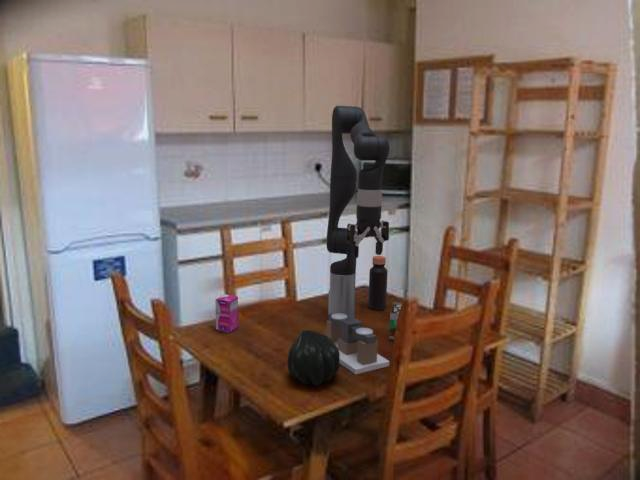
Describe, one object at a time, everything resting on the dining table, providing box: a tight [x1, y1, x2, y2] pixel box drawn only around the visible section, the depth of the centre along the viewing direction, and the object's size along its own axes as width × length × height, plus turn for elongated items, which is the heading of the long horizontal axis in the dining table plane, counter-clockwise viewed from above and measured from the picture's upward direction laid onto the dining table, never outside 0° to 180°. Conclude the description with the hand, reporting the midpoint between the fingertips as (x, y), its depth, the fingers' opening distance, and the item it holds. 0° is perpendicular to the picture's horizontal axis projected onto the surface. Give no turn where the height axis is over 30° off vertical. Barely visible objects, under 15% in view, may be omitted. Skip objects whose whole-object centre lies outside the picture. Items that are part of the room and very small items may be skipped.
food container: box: [388, 301, 403, 342], centre depth 188 cm, size 12×6×10 cm, turn 168°
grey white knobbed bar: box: [328, 313, 377, 344], centre depth 172 cm, size 22×5×6 cm, turn 30°
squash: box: [286, 329, 340, 386], centre depth 156 cm, size 14×15×15 cm
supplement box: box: [214, 293, 239, 334], centre depth 191 cm, size 6×6×12 cm
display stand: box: [325, 319, 390, 375], centre depth 172 cm, size 24×12×8 cm, turn 30°
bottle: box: [367, 255, 388, 311], centre depth 214 cm, size 7×7×20 cm
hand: (367, 255), depth 173 cm, fingers open, 8 cm apart
